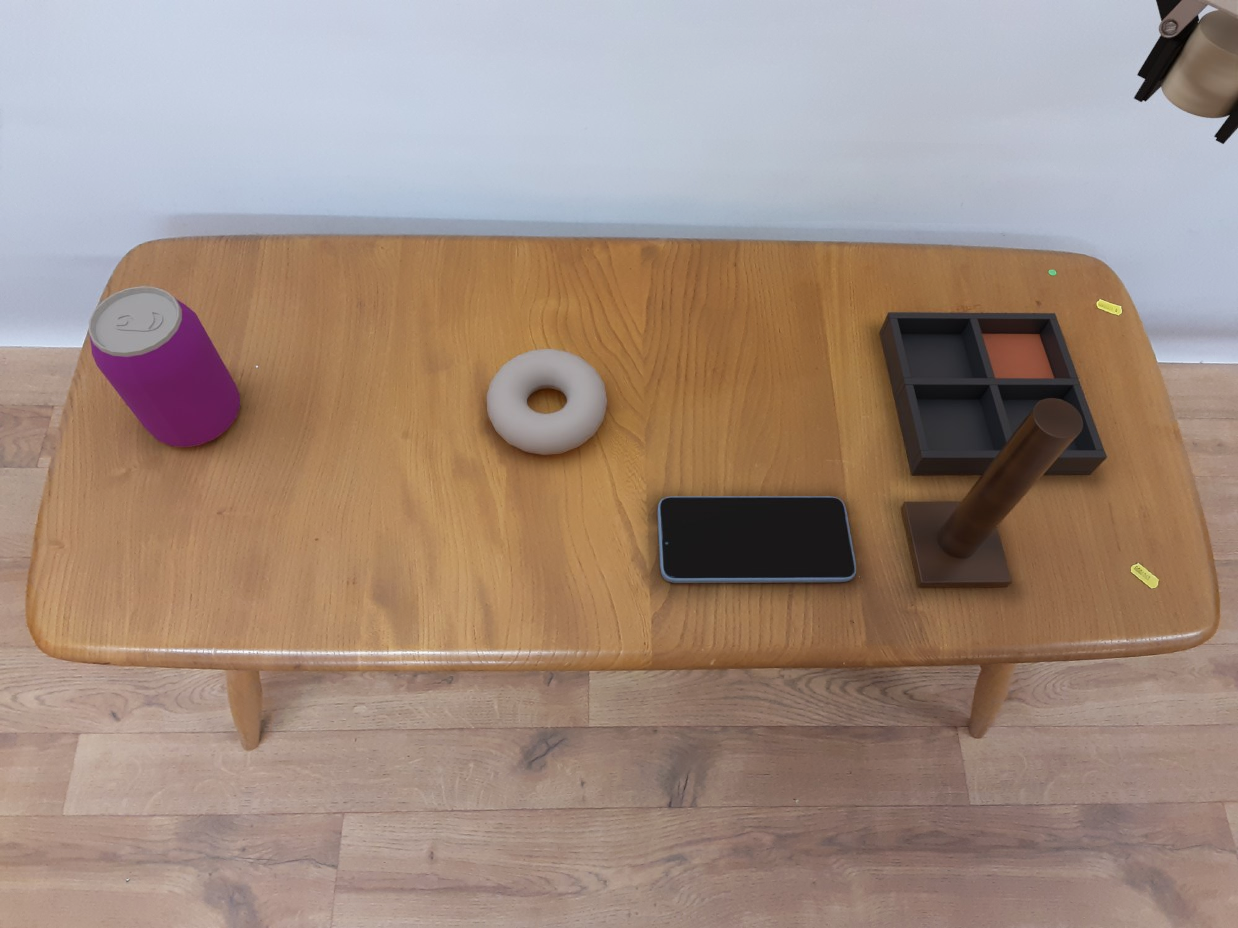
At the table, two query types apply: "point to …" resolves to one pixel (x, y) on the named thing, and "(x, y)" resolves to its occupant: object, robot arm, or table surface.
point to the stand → (987, 505)
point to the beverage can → (163, 366)
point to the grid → (980, 387)
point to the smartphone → (754, 539)
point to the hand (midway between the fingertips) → (1189, 108)
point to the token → (1206, 69)
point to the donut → (552, 428)
